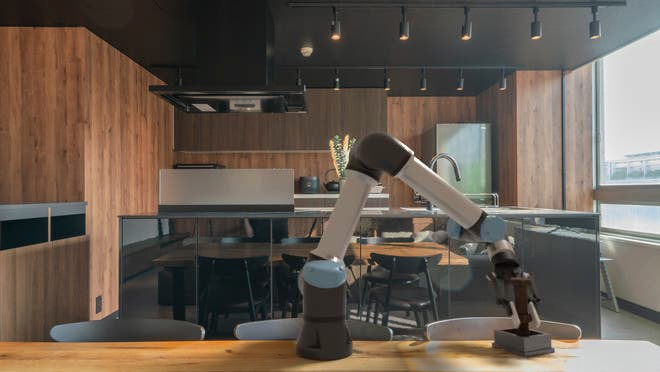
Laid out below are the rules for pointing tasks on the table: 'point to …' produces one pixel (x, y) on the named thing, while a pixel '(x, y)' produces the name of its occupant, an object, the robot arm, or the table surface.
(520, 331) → the brown flared column
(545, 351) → the rectangular open box
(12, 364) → the table surface
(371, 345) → the table surface
